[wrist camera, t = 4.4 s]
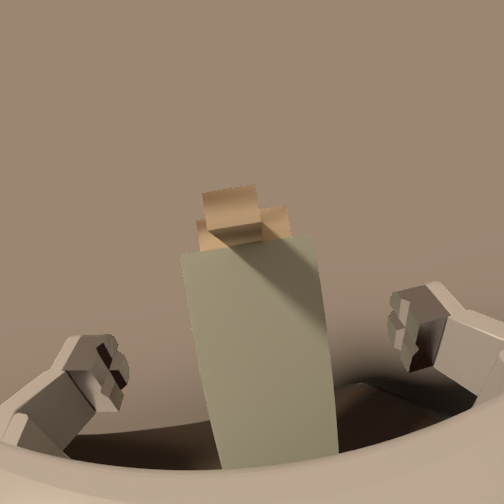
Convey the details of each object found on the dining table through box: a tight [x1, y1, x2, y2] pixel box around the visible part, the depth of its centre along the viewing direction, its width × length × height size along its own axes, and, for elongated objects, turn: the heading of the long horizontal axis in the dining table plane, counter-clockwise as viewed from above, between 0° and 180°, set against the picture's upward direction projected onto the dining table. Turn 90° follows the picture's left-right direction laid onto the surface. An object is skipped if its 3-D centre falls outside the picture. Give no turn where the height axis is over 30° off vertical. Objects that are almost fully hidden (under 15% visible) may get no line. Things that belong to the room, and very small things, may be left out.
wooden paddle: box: [196, 184, 292, 251], centre depth 24 cm, size 18×7×2 cm, turn 178°
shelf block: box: [180, 234, 339, 469], centre depth 27 cm, size 10×9×26 cm
